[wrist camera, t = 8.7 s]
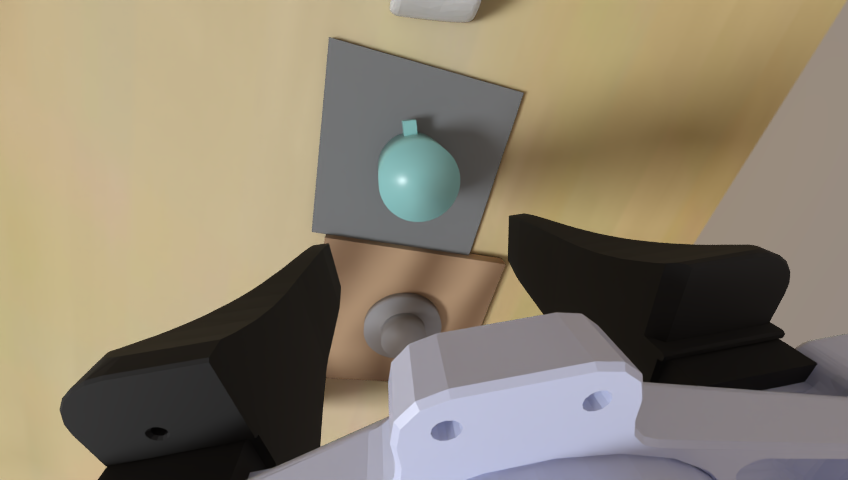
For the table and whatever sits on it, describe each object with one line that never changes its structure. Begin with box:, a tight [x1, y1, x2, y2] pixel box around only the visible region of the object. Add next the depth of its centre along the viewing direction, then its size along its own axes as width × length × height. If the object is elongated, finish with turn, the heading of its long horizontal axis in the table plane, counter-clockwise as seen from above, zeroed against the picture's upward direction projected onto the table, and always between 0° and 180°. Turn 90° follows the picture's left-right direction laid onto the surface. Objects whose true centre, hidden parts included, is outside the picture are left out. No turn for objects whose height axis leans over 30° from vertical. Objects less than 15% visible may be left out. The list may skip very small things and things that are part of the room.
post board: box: [324, 234, 506, 381], centre depth 25 cm, size 14×14×3 cm
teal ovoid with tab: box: [378, 119, 460, 222], centre depth 19 cm, size 6×5×4 cm
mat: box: [312, 37, 524, 255], centre depth 21 cm, size 12×12×1 cm
